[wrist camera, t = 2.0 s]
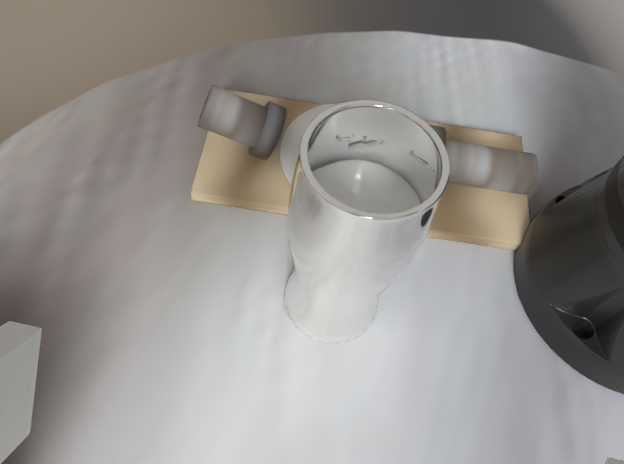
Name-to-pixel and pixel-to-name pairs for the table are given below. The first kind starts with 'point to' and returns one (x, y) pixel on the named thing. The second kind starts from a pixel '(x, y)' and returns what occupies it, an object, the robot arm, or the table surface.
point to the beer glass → (358, 212)
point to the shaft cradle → (286, 145)
